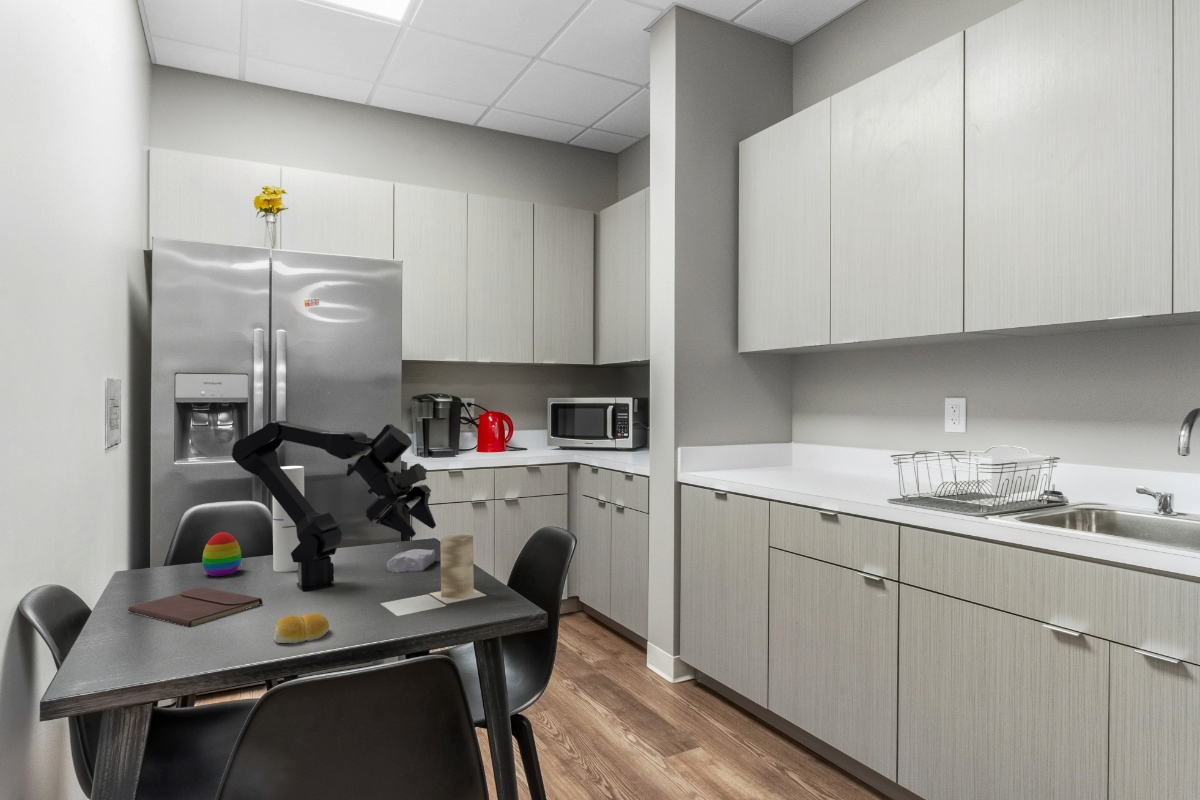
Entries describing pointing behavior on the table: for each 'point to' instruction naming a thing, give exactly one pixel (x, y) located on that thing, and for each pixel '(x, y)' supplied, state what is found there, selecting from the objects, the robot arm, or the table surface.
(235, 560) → the decorative egg
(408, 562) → the stone block
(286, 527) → the cylindrical container
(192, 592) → the notebook
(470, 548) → the maple block
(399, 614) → the grey mat
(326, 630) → the bread roll
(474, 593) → the tile
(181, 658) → the table surface
